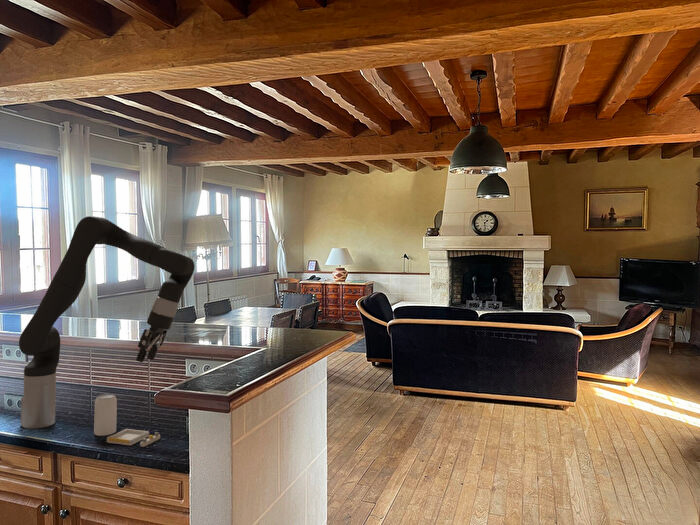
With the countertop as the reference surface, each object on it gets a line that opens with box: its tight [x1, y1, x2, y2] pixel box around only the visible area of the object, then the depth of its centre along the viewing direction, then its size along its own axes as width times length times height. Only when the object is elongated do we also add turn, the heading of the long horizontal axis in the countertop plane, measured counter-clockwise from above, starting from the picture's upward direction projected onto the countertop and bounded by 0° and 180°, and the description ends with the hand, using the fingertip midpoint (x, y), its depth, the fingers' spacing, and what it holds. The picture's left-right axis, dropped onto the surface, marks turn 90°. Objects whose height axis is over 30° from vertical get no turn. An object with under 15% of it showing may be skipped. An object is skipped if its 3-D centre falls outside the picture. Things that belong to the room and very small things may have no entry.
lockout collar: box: [106, 428, 150, 446], centre depth 154 cm, size 9×9×2 cm
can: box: [93, 393, 118, 437], centre depth 160 cm, size 6×6×12 cm
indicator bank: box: [139, 431, 161, 448], centre depth 152 cm, size 1×8×2 cm, turn 165°
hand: (144, 360), depth 160 cm, fingers open, 8 cm apart
